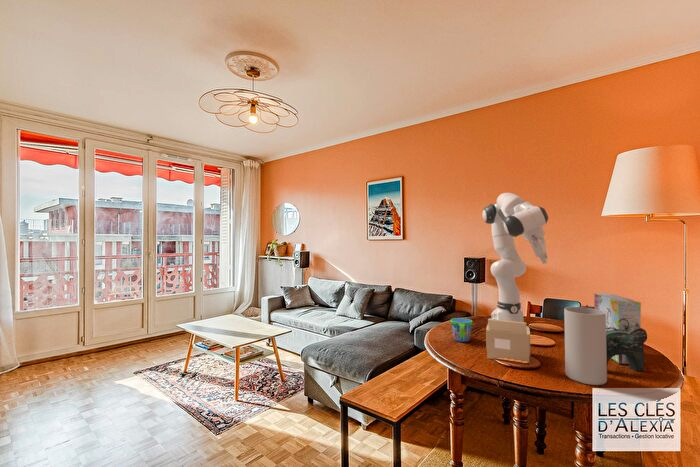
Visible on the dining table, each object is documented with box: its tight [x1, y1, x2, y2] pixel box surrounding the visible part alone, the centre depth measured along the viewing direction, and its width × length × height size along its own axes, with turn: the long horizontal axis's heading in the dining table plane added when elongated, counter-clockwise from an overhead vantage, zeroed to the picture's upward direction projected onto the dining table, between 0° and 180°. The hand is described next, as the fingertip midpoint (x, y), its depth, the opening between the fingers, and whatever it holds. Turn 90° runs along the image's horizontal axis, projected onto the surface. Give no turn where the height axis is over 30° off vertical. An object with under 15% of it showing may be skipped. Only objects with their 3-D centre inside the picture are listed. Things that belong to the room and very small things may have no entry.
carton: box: [485, 323, 531, 363], centre depth 146 cm, size 15×17×12 cm
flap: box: [487, 318, 527, 334], centre depth 137 cm, size 9×14×1 cm
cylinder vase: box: [563, 306, 608, 386], centre depth 122 cm, size 12×12×25 cm
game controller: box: [606, 319, 648, 372], centre depth 129 cm, size 20×6×20 cm, turn 91°
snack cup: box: [450, 317, 474, 343], centre depth 168 cm, size 16×10×10 cm
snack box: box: [593, 292, 642, 365], centre depth 144 cm, size 22×9×26 cm, turn 166°
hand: (545, 260), depth 158 cm, fingers open, 8 cm apart
